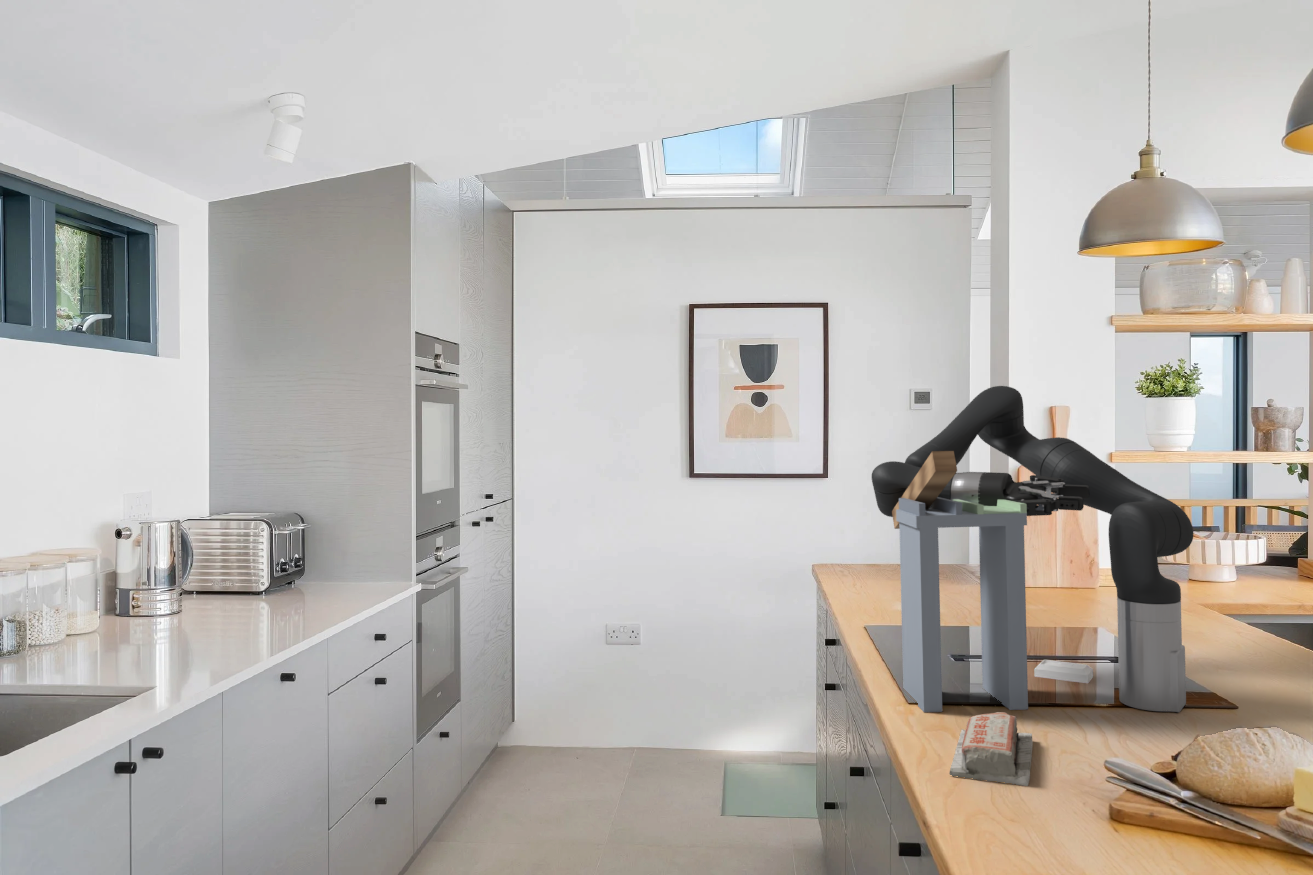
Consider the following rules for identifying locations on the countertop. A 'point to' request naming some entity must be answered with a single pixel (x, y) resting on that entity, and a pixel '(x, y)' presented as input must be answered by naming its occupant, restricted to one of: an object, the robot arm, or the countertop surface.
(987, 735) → the packaged product
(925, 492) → the wooden square beam
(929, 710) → the bridge
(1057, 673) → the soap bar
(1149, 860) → the countertop surface
